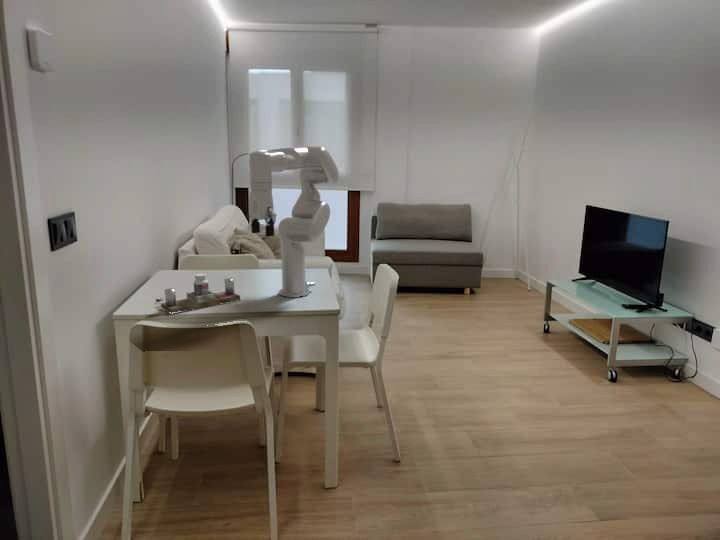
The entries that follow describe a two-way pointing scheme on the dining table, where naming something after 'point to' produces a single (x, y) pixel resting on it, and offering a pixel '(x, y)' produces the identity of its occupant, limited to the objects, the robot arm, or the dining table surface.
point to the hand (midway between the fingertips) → (262, 234)
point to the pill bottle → (201, 285)
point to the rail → (200, 301)
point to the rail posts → (171, 296)
